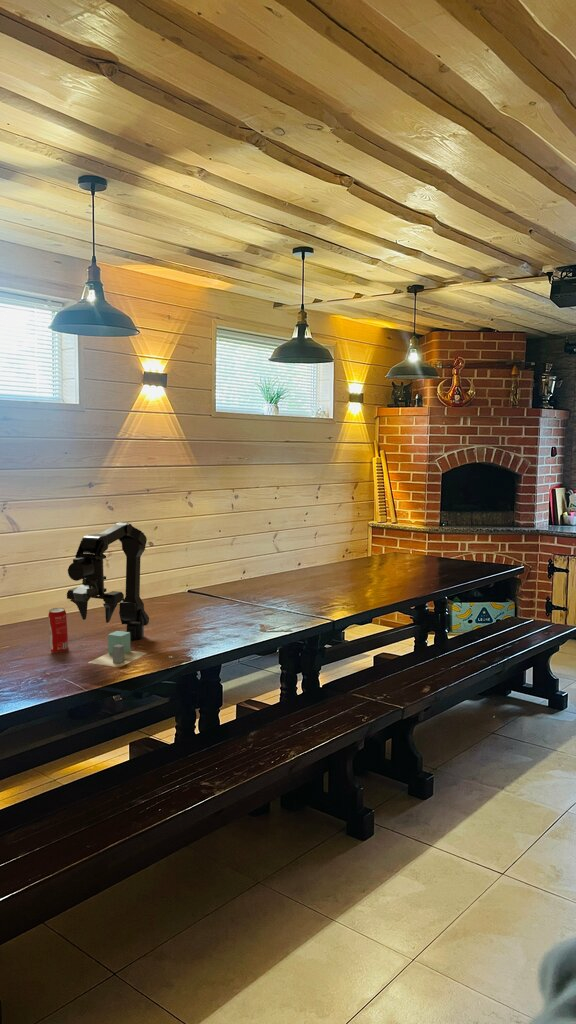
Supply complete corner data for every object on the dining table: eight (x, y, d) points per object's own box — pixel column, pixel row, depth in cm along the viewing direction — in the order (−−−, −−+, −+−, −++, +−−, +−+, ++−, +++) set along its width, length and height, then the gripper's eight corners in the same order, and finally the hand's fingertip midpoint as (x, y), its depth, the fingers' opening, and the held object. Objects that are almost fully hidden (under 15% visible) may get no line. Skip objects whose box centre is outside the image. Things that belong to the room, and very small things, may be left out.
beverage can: (70, 649, 246) (69, 606, 245) (65, 655, 240) (64, 611, 238) (53, 649, 246) (51, 606, 244) (47, 655, 239) (46, 611, 238)
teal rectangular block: (117, 649, 243) (117, 630, 242) (130, 651, 241) (130, 632, 240) (108, 653, 238) (108, 634, 237) (121, 655, 236) (121, 636, 236)
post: (117, 660, 231) (117, 644, 230) (124, 661, 230) (124, 645, 229) (113, 663, 228) (112, 646, 228) (119, 664, 227) (119, 647, 227)
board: (117, 651, 244) (117, 649, 243) (147, 656, 239) (147, 653, 239) (87, 665, 229) (87, 662, 229) (119, 670, 224) (119, 667, 224)
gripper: (54, 576, 227) (56, 624, 229) (103, 581, 220) (104, 630, 222) (77, 570, 237) (78, 615, 239) (124, 574, 230) (125, 621, 232)
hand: (95, 621), depth 233 cm, fingers open, 9 cm apart
